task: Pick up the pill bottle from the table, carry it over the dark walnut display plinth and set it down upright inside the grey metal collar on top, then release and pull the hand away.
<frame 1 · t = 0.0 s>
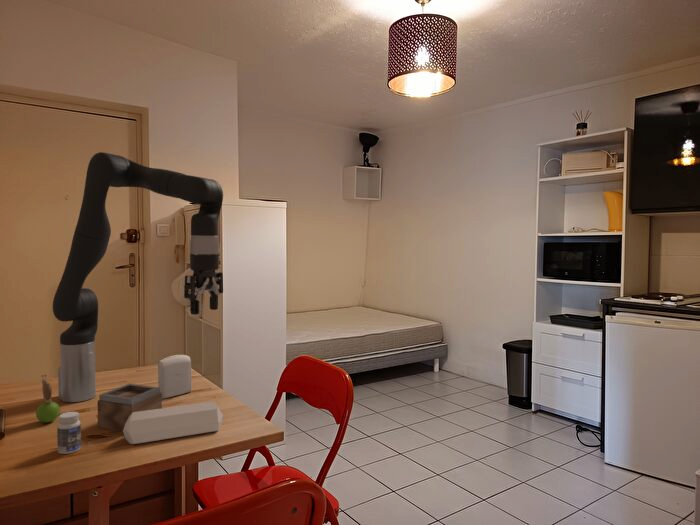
hand: (204, 311, 132), 29 cm above the table, tool pointing down, fingers open, 8 cm apart
crystal: (175, 435, 123), on the table
pill bottle: (69, 450, 113), on the table
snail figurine: (47, 422, 130), on the table
photo printer: (175, 395, 153), on the table
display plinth: (130, 422, 129), on the table
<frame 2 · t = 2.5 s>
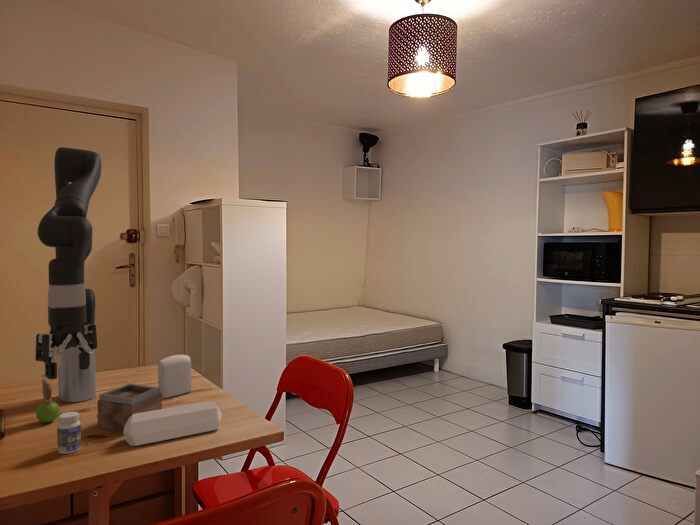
hand: (68, 373, 112), 18 cm above the table, tool pointing down, fingers open, 8 cm apart
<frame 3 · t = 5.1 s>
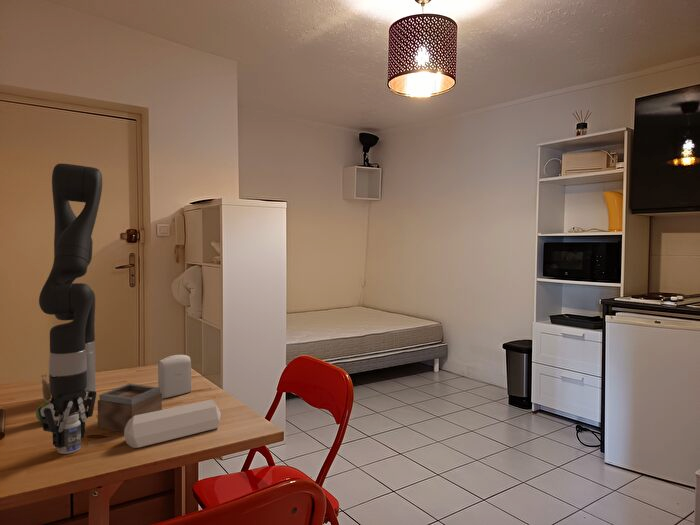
hand: (69, 441, 113), 2 cm above the table, tool pointing down, fingers closed on pill bottle, 4 cm apart
pill bottle: (69, 450, 113), on the table, touching gripper
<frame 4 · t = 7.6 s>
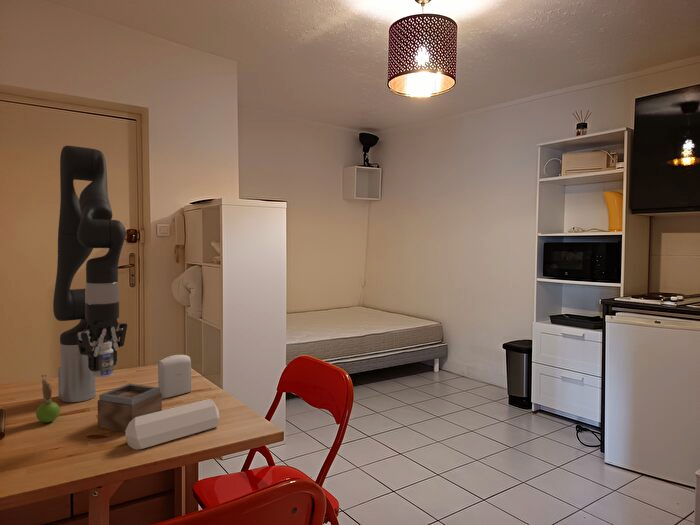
hand: (102, 367, 121), 17 cm above the table, tool pointing down, fingers closed on pill bottle, 4 cm apart
pill bottle: (103, 375, 121), point 15 cm above the table, touching gripper
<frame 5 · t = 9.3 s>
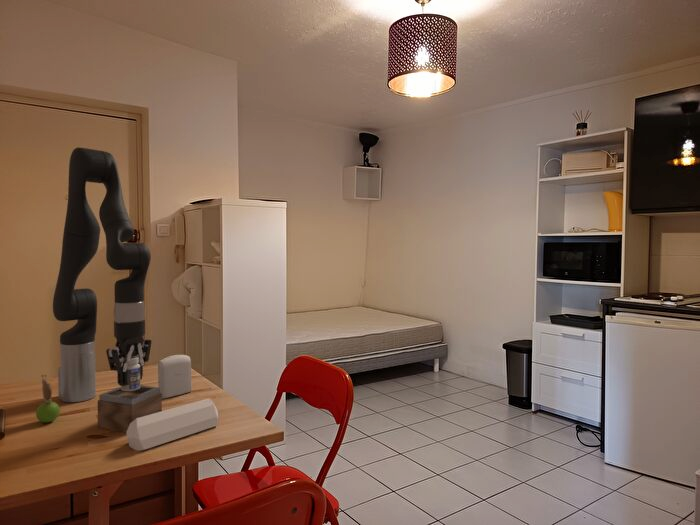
hand: (130, 382, 129), 11 cm above the table, tool pointing down, fingers closed on pill bottle, 4 cm apart
pill bottle: (130, 389, 129), point 9 cm above the table, touching gripper
when the fingers open (10 cm above the table, at t = 10.3 s): pill bottle stays where it is, resting on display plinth.
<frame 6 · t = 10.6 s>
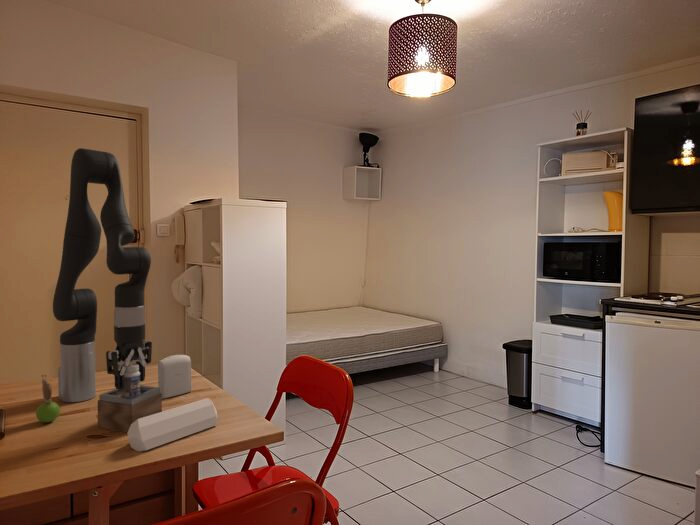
hand: (130, 384, 129), 10 cm above the table, tool pointing down, fingers open, 6 cm apart
pill bottle: (130, 397, 129), point 7 cm above the table, touching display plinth
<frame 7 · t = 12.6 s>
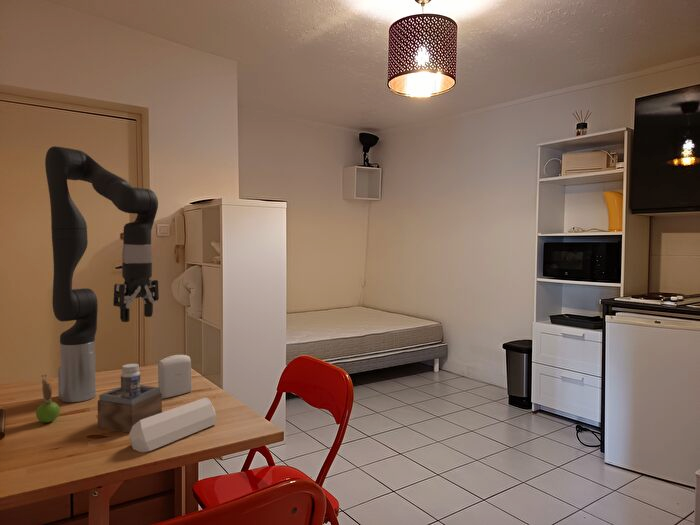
hand: (136, 319, 135), 27 cm above the table, tool pointing down, fingers open, 8 cm apart
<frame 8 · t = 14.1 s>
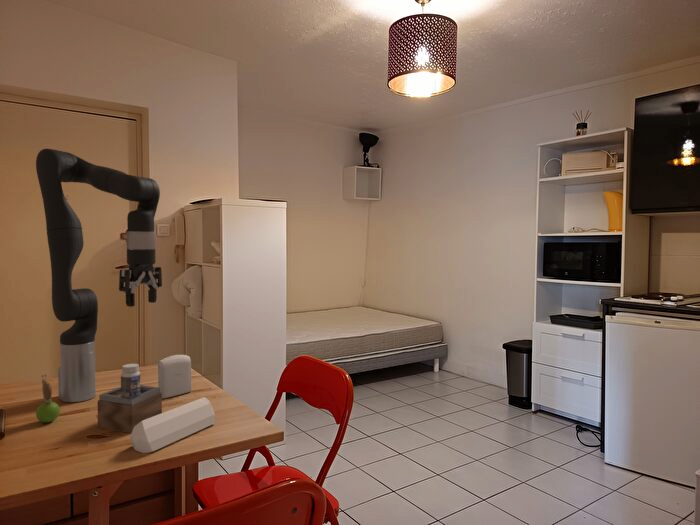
hand: (141, 304, 139), 30 cm above the table, tool pointing down, fingers open, 8 cm apart
at the end: pill bottle 0.1 cm off-centre on the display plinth, point 6.8 cm above the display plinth's base; pill bottle tilted 0°; the gripper is holding nothing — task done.
